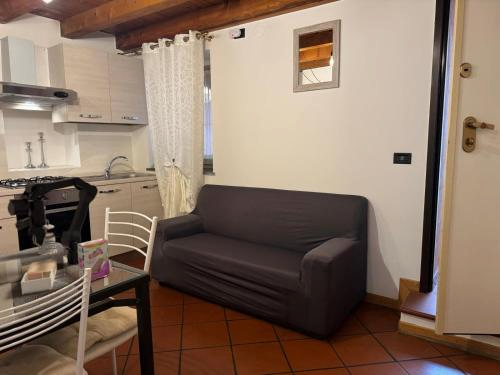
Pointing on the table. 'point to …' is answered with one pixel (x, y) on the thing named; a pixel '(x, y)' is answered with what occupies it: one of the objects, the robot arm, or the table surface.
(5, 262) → the table surface
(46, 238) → the french press
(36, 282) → the box
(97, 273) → the candy bar box
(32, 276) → the terracotta block
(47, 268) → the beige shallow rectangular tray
